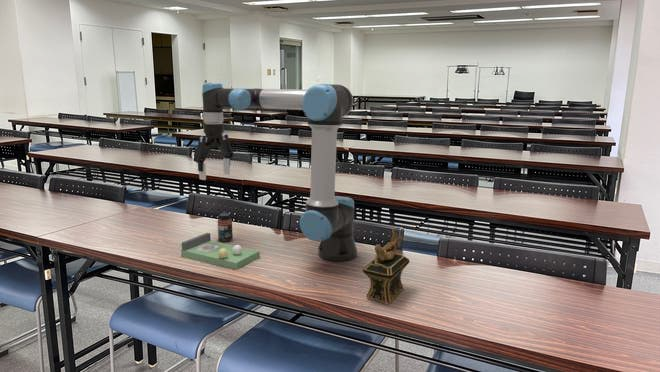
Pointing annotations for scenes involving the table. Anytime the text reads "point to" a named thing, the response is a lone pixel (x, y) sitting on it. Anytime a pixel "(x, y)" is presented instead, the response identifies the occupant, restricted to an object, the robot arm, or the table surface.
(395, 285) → the decorative box
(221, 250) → the yellow ball
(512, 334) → the table surface
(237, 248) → the ball
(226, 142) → the robot arm
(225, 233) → the supplement bottle
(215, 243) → the green
